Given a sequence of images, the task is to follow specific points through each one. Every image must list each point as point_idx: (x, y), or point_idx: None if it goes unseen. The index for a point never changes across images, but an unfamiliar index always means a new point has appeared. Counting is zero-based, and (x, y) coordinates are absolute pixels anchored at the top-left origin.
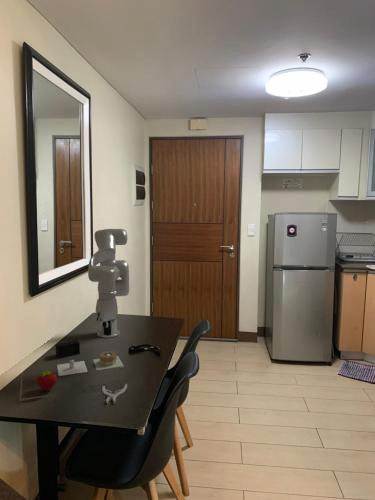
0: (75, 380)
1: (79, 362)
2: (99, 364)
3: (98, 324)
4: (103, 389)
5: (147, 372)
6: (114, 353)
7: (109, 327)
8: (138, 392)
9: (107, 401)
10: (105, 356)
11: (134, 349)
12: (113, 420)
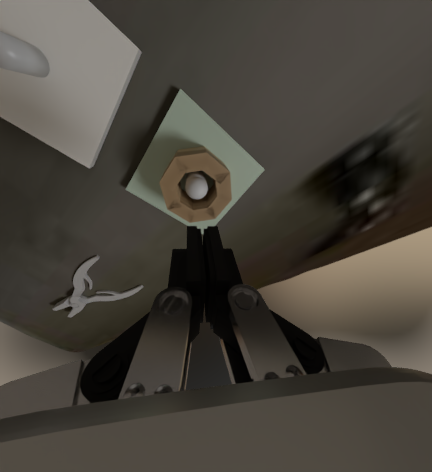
0: (24, 168)
1: (106, 38)
2: (164, 161)
3: (2, 396)
4: (80, 271)
5: None
6: (219, 207)
7: (206, 318)
8: (137, 312)
9: (55, 310)
10: (174, 197)
11: (352, 167)
12: (43, 333)
